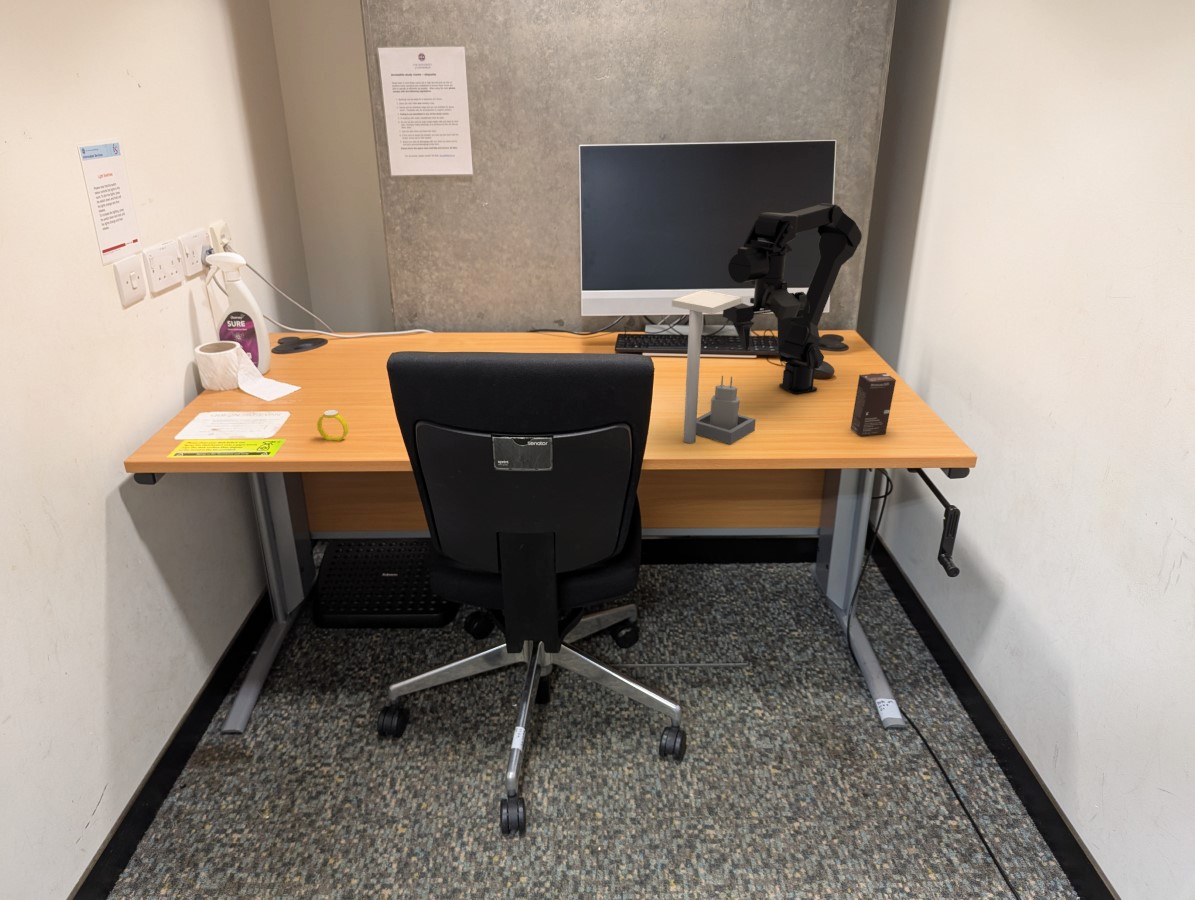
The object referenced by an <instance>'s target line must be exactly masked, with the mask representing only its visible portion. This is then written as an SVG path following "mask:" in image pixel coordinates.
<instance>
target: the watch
mask: <svg viewBox="0 0 1195 900" xmlns="http://www.w3.org/2000/svg"><path fill="white" fill-rule="evenodd" d="M324 418H327V419H333V418H334V419H336V420H338V421H339V423H340V424H341V426H342V429H343V434H342V436H330V435H329V434H328V433H326V432H325V430H324V427H323V420H324ZM316 423H317V424H316V426H317V431H318V433H319V435H320V436H321V438H323V439H324V440H326V441H336V442H341V441H342V440H343V439H344V438H345V437H346V436H347V435H348V432H349V425H348V422H347V421H346V419H345V418H344V417H343V416H342V415H341V414H339V411H338V410H334V409H330V410H326V411H324V412H323V414H322V415H321V416H319V418H318V420H317V422H316Z"/></svg>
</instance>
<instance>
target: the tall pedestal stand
mask: <svg viewBox="0 0 1195 900" xmlns="http://www.w3.org/2000/svg"><path fill="white" fill-rule="evenodd" d="M741 303H743V296H739V295H732V294H726V293H721V292H716V291H710V290H704V289H702V290H698V291H696V292H693V293H692V292H691V293H690V294H686V295H684V296H679V297H677V298H674V299H671V307H672V308H673V307H674V308H679V309H683V310H688V311H689V315H688V316H689V317H688V334H687V335H688V336H687V337H688V338H687V339H688V340H687V356H686V357H687V358H686V377H685V378H686V380H685V398H684V400H685V404H684V420H683V421H684V423H683V440H682V441H683V442H684V443H685V444H695V443H696V438H697V436H701V437H704V438H708V439H710V440H714V441H717V442H720V443H724V444H727V445H729V446H730V445H732V444H734V443H736V442H737V441H739V440H741V439H743V438H744V437H745V436H747V435H749V434H750V433H752V432H754V431H755V430H756V421H757V419H756V418H752V417H750V416H746V415H742V414H740V413H738V425H737V426H736V427H734V428H733V429H731V430H727V429H724V428H720V427H717V426H713V425H710V414H711V410H710V411H708V412H706V413H704V414H702V415H700V416H698V403H699V402H698V401H699V400H698V399H699V384H700V383H699V381H700V368H701V367H700V363H701V345H702V343H701V342H702V329H703V327H702V326H703V313H704V314H709V315H714V314H717V313H720V312H723V310H725V309H728V308H731V307H733V306H736V305H739V304H741Z"/></svg>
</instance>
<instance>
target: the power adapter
mask: <svg viewBox="0 0 1195 900" xmlns="http://www.w3.org/2000/svg"><path fill="white" fill-rule="evenodd" d="M729 381H730V383H729V385H724V375H721V382H720V384H719V385H715V388H714V389H715V390H714V395H712V397H711V400H710V402H711V404H710V411H711V414H710V425H713V426H717V427H720V428H724V429H727V430H731V429H733V428H734V427H736V426H737V425H738V414H739V412H740V411H739V409H740V398H739V397H738V396H737V393H738V388H737V387H736V386H733V376H730V380H729Z"/></svg>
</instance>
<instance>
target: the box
mask: <svg viewBox="0 0 1195 900" xmlns="http://www.w3.org/2000/svg"><path fill="white" fill-rule="evenodd" d="M896 382H897V380H896V378H894V377H892V376H891V375H889V374H888V373H886V372H883V373H882V372H880V373H869V374H867V373H866V374H859V377H858V382H857V389H856V393H855V401H854V407H853V412H852V419H851V425H850V429H851V431H852V432H854V433H855V434H857V435H858V436H860V437H865V436H875V435H885V434H887V429H888V428H887V427H888V423H889V418H890V413H891V407H892V401H893V397H894V392H895V388H896V387H895V386H896Z"/></svg>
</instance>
